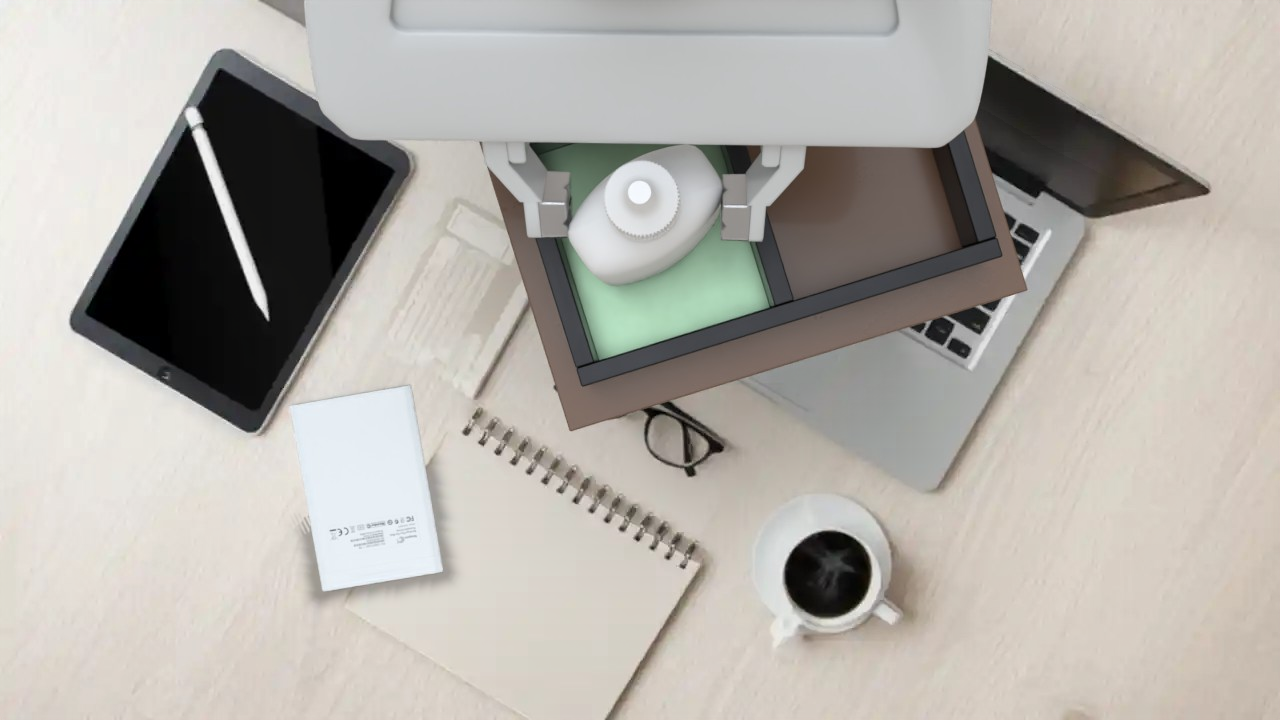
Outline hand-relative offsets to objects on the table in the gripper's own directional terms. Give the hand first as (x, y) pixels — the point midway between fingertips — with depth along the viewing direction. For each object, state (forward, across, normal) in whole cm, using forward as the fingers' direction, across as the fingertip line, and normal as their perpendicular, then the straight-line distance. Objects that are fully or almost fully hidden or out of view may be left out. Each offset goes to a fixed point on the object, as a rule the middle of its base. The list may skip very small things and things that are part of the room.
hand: (647, 229), depth 39 cm
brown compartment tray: (+5, +4, +7) cm, 10 cm away
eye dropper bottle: (+4, 0, +5) cm, 7 cm away
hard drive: (+34, -19, +14) cm, 41 cm away
